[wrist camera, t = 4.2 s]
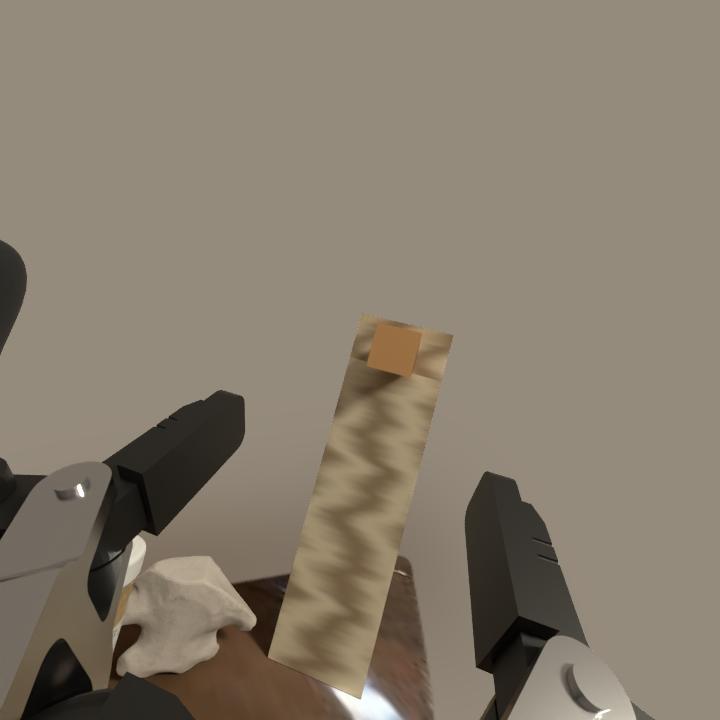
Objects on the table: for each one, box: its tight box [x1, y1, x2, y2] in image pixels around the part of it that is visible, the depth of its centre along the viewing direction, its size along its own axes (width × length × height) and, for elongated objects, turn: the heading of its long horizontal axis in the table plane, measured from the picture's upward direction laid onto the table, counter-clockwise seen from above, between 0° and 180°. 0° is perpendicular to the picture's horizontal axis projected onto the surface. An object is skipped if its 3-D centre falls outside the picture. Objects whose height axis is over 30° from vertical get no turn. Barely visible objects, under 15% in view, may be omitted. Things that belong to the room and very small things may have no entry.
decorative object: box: [116, 556, 256, 678], centre depth 27 cm, size 12×4×10 cm, turn 122°
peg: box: [366, 323, 422, 378], centre depth 28 cm, size 3×18×3 cm, turn 172°
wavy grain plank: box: [268, 314, 453, 699], centre depth 35 cm, size 10×10×37 cm
